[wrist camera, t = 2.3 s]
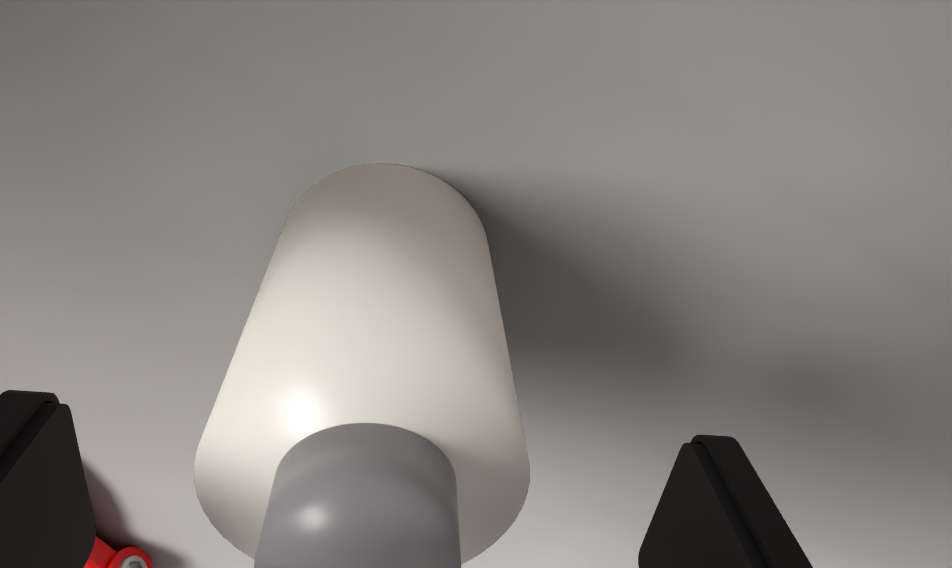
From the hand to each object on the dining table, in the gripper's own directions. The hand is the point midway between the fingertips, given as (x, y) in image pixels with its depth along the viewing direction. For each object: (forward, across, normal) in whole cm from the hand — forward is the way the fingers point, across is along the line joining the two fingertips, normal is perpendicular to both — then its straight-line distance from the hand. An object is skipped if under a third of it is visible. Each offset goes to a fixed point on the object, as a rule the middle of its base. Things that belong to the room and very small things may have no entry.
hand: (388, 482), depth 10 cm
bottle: (+5, 0, -1) cm, 5 cm away
